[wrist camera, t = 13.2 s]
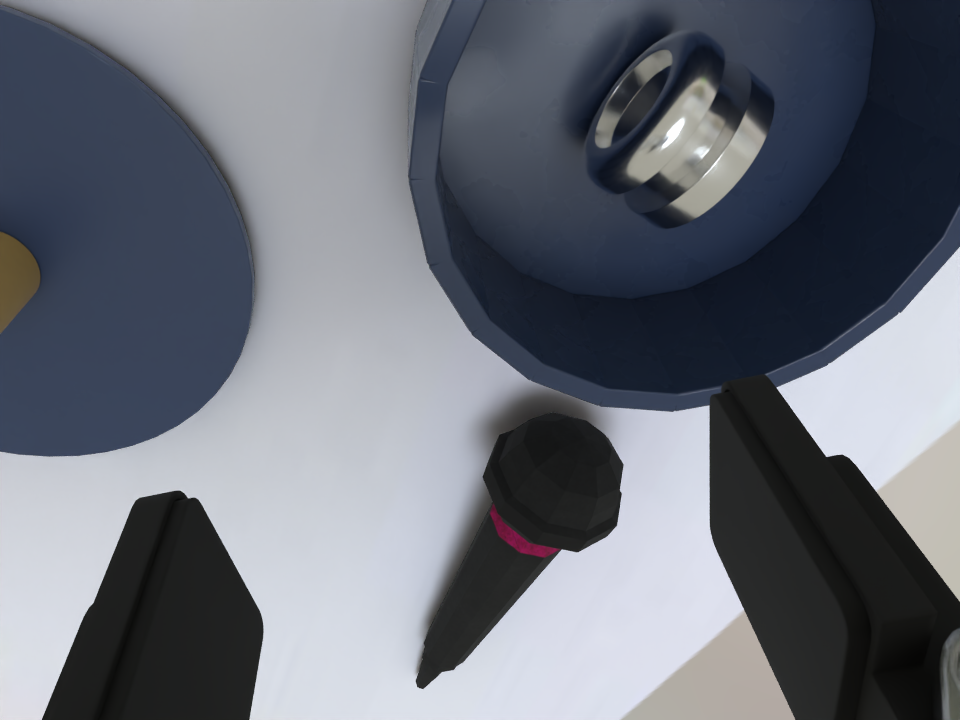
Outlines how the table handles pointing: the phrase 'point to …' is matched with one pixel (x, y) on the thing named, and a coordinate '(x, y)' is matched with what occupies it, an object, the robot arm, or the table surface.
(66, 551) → the table surface
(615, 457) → the microphone
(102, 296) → the tin lid
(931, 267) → the tin
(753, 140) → the grooved metal pulley
